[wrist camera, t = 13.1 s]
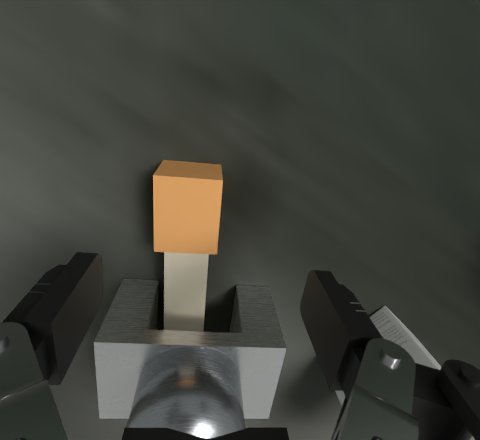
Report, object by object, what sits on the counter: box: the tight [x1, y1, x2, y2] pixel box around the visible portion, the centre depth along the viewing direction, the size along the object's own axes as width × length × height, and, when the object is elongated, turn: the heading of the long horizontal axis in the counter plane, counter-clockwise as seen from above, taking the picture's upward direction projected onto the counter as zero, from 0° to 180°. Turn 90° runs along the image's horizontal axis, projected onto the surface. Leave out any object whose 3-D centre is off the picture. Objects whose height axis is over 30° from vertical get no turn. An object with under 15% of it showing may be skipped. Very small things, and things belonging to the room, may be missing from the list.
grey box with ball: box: [94, 278, 286, 439], centre depth 21 cm, size 12×7×12 cm, turn 82°
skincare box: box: [335, 306, 475, 440], centre depth 22 cm, size 8×7×16 cm
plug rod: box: [153, 160, 223, 332], centre depth 24 cm, size 4×23×4 cm, turn 174°
